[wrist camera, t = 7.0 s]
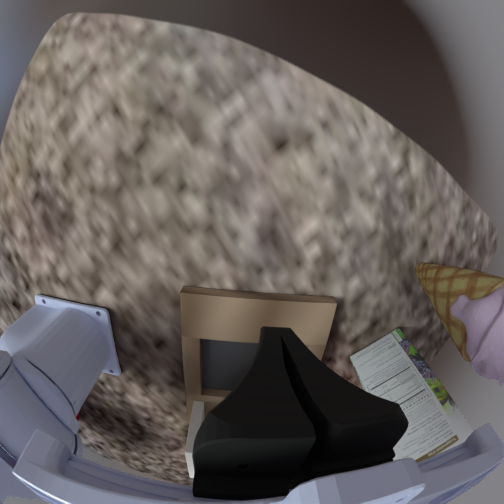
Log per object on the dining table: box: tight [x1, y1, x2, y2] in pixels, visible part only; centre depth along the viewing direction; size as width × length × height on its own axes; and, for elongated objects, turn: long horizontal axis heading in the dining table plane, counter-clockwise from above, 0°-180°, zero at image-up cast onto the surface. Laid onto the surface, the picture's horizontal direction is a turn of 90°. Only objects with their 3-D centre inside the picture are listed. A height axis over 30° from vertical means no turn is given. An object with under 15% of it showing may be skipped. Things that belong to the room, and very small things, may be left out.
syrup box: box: [350, 328, 473, 463], centre depth 17 cm, size 6×6×14 cm
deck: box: [180, 286, 337, 425], centre depth 24 cm, size 12×27×1 cm, turn 175°
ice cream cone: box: [415, 263, 504, 386], centre depth 14 cm, size 7×6×15 cm
